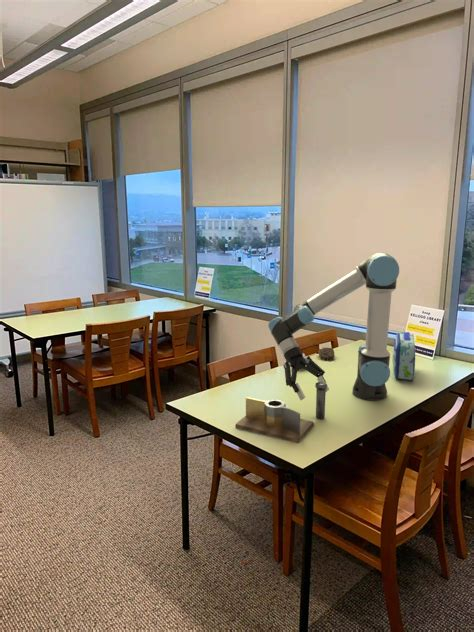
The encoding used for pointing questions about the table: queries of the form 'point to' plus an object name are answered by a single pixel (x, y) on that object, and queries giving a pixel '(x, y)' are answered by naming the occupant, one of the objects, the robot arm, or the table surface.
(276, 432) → the hinge base
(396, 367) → the lunch box
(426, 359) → the table surface
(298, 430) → the hinge
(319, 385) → the hinge pin
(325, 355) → the concrete sample
